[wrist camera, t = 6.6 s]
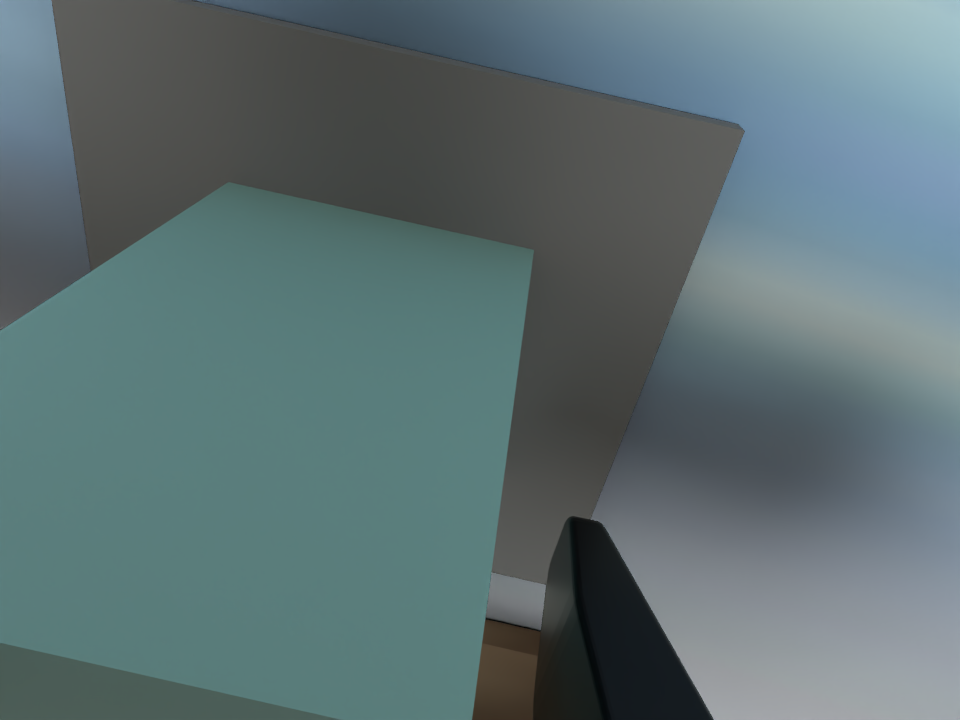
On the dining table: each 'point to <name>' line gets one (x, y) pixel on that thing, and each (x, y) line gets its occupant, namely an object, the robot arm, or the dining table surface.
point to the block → (258, 469)
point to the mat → (417, 196)
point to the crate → (506, 673)
